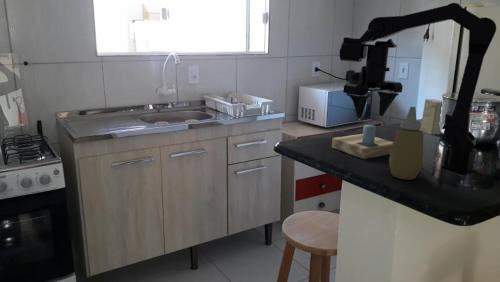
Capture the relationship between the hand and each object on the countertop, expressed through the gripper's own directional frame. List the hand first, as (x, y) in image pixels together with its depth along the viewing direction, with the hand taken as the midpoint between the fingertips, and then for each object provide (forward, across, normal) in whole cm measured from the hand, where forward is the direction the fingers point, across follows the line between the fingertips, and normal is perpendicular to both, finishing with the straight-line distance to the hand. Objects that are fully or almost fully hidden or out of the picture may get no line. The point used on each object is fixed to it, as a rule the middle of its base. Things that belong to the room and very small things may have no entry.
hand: (370, 116), depth 122 cm
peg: (+11, 0, 0) cm, 11 cm away
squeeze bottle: (+11, +7, +19) cm, 23 cm away
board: (+11, -2, -3) cm, 12 cm away
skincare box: (+12, -43, -9) cm, 45 cm away
